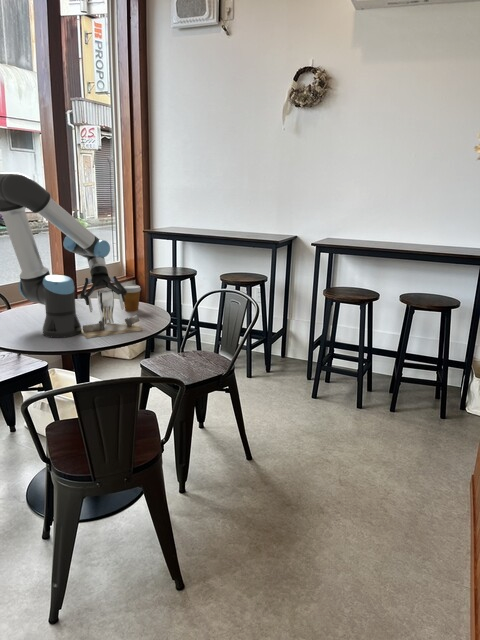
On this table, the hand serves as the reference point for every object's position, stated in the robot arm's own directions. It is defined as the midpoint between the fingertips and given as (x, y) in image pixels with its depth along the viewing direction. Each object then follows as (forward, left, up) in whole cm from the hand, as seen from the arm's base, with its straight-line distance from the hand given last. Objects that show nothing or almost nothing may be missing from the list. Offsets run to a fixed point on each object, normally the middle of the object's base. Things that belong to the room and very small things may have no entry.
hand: (107, 309), depth 210 cm
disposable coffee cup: (+18, +20, -7) cm, 28 cm away
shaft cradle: (-1, -9, -7) cm, 11 cm away
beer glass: (0, +2, -7) cm, 8 cm away
